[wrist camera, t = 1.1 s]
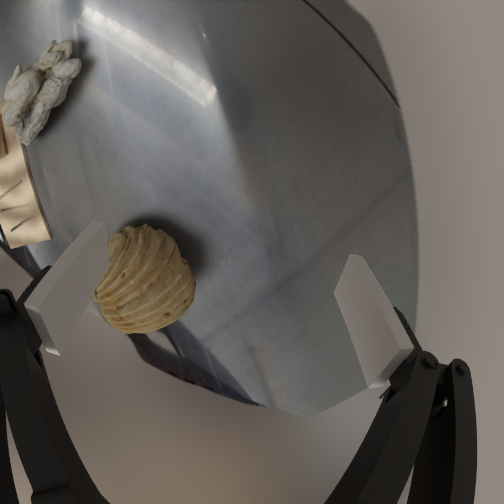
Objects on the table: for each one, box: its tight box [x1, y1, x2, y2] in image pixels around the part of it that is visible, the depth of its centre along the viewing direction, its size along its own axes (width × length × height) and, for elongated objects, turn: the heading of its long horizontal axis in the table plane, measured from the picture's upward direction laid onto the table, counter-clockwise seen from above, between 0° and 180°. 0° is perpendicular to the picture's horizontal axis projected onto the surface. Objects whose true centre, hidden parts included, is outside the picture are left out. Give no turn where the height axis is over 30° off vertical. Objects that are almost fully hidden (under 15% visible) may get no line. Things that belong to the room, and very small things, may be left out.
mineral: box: [3, 40, 82, 146], centre depth 24 cm, size 12×17×10 cm
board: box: [0, 100, 53, 249], centre depth 33 cm, size 28×14×1 cm, turn 6°
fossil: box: [92, 224, 196, 334], centre depth 37 cm, size 15×17×15 cm
